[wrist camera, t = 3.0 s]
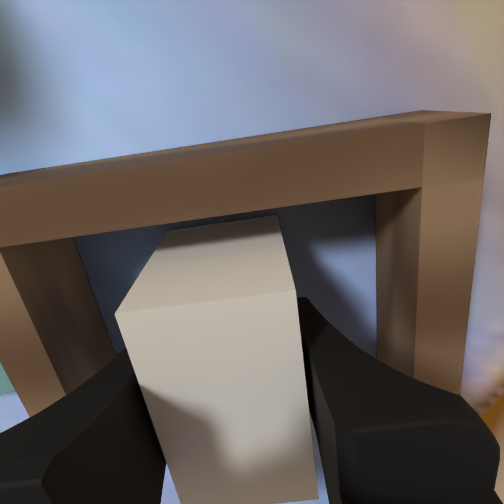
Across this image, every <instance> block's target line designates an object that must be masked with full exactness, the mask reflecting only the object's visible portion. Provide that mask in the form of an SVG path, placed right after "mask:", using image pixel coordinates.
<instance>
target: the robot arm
mask: <svg viewBox="0 0 504 504" xmlns="http://www.w3.org/2000/svg"><path fill="white" fill-rule="evenodd" d="M297 307H298V316H299V325H300V334H301V343H302V352H303V361H304V370H305V379H306V388H307V397H308V406H309V411H310V414H311V417H312V421H313V424H314V428H315V432H316V436H317V440H318V445H319V451H320V456H321V461H322V467H323V472H324V477H325V483H326V488H327V493H328V499H329V504H503V503H502V502H501V500H500V499H499V497H498V495H497V494H496V492H495V491H494V488H495V482H496V477H497V471H498V466H499V461H500V447H499V445H498V442H497V440H496V438H495V436H494V435H493V434H492V432H491V431H490V430H489V428H488V427H487V425H486V424H485V423H484V422H483V420H482V419H481V418H480V417H479V415H478V414H477V413H476V412H475V411H474V410H473V409H472V407H471V406H470V405H469V404H468V403H467V402H466V401H465V400H464V399H463V397H462V396H460V395H457V394H454V393H451V392H449V391H446V390H443V389H440V388H437V387H435V386H432V385H429V384H426V383H424V382H421V381H419V380H417V379H415V378H412V377H410V376H408V375H406V374H403V373H401V372H399V371H397V370H395V369H393V368H391V367H390V366H388V365H386V364H384V363H382V362H381V361H379V360H377V359H375V358H374V357H372V356H370V355H369V354H367V353H366V352H364V351H363V350H361V349H360V348H359V347H357V346H356V345H354V344H353V343H352V342H351V341H349V340H348V339H347V338H346V337H345V336H343V335H342V334H341V333H340V332H339V331H338V330H337V329H335V328H334V327H333V326H332V325H331V324H330V323H329V322H328V321H327V320H326V319H325V318H324V317H323V316H322V315H321V314H320V313H319V311H318V310H317V309H316V308H315V307H314V306H313V304H312V303H311V302H310V300H309V299H307V298H306V297H301V298H297ZM165 468H166V460H165V457H164V454H163V451H162V448H161V445H160V443H159V440H158V437H157V434H156V431H155V428H154V425H153V423H152V420H151V417H150V414H149V411H148V408H147V405H146V403H145V400H144V397H143V394H142V391H141V388H140V385H139V383H138V380H137V377H136V374H135V371H134V368H133V365H132V363H131V360H130V357H129V354H128V351H127V348H125V349H124V350H123V351H122V352H120V353H119V354H118V355H117V356H116V357H115V358H114V359H112V360H111V361H110V362H109V363H108V364H107V365H106V366H104V367H103V368H102V369H101V370H100V371H98V372H97V373H96V374H95V375H93V376H92V377H91V378H90V379H88V380H87V381H85V382H84V383H83V384H81V385H80V386H79V387H77V388H76V389H74V390H73V391H72V392H70V393H69V394H67V395H65V396H64V397H62V398H61V399H59V400H58V401H56V402H55V403H53V404H51V405H50V406H48V407H47V408H45V409H44V410H42V411H40V412H38V413H37V414H35V415H33V416H32V417H30V418H28V419H26V420H24V421H23V422H21V423H19V424H17V425H15V426H13V427H11V428H10V429H8V430H6V431H4V432H2V433H0V504H160V503H161V496H162V488H163V481H164V475H165Z"/></svg>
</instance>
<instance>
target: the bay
mask: <svg viewBox="0 0 504 504" xmlns="http://www.w3.org/2000/svg"><path fill="white" fill-rule="evenodd" d="M490 120H491V113H472V112H449V111H426V110H421V111H414V112H408V113H401V114H395V115H388V116H382V117H375V118H369V119H362V120H355V121H349V122H342V123H336V124H329V125H323V126H316V127H310V128H303V129H297V130H290V131H284V132H277V133H271V134H264V135H257V136H251V137H244V138H238V139H231V140H225V141H218V142H212V143H205V144H199V145H192V146H186V147H179V148H173V149H166V150H159V151H153V152H146V153H140V154H133V155H127V156H120V157H114V158H107V159H101V160H94V161H88V162H81V163H75V164H68V165H62V166H55V167H48V168H42V169H35V170H29V171H22V172H16V173H9V174H4V175H0V362H1V364H2V366H3V368H4V370H5V371H6V373H7V375H8V377H9V379H10V381H11V383H12V385H13V386H14V388H15V390H16V392H17V394H18V396H19V398H20V400H21V402H22V403H23V405H24V407H25V409H26V411H27V413H28V415H29V417H32V416H33V415H35V414H37V413H38V412H40V411H42V410H44V409H45V408H47V407H48V406H50V405H51V404H53V403H55V402H56V401H58V400H59V399H61V398H62V397H64V396H65V395H67V394H69V393H70V392H72V391H73V390H74V389H76V388H77V387H79V386H80V385H81V384H83V383H84V382H85V381H87V380H88V379H90V378H91V377H92V376H93V375H95V374H96V373H97V372H98V371H100V370H101V369H102V368H103V367H104V366H106V365H107V364H108V363H109V362H110V361H111V360H112V359H114V358H115V357H116V354H115V351H114V349H113V346H112V343H111V340H110V338H109V335H108V332H107V329H106V327H105V324H104V321H103V319H102V316H101V313H100V310H99V308H98V305H97V302H96V300H95V297H94V294H93V291H92V289H91V286H90V283H89V281H88V278H87V275H86V272H85V270H84V267H83V264H82V262H81V259H80V256H79V253H78V251H77V248H76V245H75V242H74V240H73V237H76V236H83V235H90V234H97V233H104V232H111V231H118V230H125V229H132V228H139V227H146V226H153V225H160V224H167V223H174V222H181V221H188V220H195V219H202V218H209V217H216V216H223V215H230V214H237V213H244V212H251V211H258V210H265V209H272V208H279V207H286V206H293V205H300V204H307V203H314V202H321V201H328V200H335V199H342V198H349V197H356V196H363V195H370V194H376V308H377V360H379V361H381V362H382V363H384V364H386V365H388V366H390V367H391V368H393V369H395V370H397V371H399V372H401V373H403V374H406V375H408V376H410V377H412V378H415V379H417V380H419V381H421V382H424V383H426V384H429V385H432V386H435V387H437V388H440V389H443V390H446V391H449V392H451V393H454V394H457V395H460V388H461V379H462V370H463V361H464V352H465V343H466V334H467V325H468V316H469V307H470V298H471V289H472V281H473V272H474V263H475V254H476V245H477V236H478V227H479V218H480V209H481V200H482V191H483V182H484V173H485V165H486V156H487V147H488V138H489V129H490Z"/></svg>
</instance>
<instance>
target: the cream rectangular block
mask: <svg viewBox="0 0 504 504" xmlns="http://www.w3.org/2000/svg"><path fill="white" fill-rule="evenodd" d="M115 317H116V320H117V323H118V326H119V328H120V331H121V334H122V337H123V340H124V343H125V345H126V348H127V351H128V354H129V357H130V360H131V363H132V365H133V368H134V371H135V374H136V377H137V380H138V383H139V385H140V388H141V391H142V394H143V397H144V400H145V403H146V405H147V408H148V411H149V414H150V417H151V420H152V423H153V425H154V428H155V431H156V434H157V437H158V440H159V443H160V445H161V448H162V451H163V454H164V457H165V460H166V462H167V465H168V468H169V471H170V474H171V477H172V480H173V482H174V485H175V488H176V491H177V494H178V497H179V500H180V502H181V504H275V503H284V502H294V501H304V500H314V499H319V496H318V487H317V478H316V469H315V460H314V451H313V442H312V433H311V424H310V415H309V406H308V397H307V388H306V379H305V370H304V361H303V352H302V343H301V334H300V325H299V316H298V307H297V298H296V289H295V286H294V282H293V278H292V274H291V270H290V266H289V262H288V258H287V254H286V250H285V246H284V242H283V238H282V234H281V230H280V226H279V222H278V218H277V215H272V216H265V217H258V218H251V219H244V220H237V221H230V222H223V223H216V224H209V225H202V226H195V227H188V228H181V229H174V230H167V232H166V234H165V235H164V237H163V238H162V240H161V241H160V243H159V245H158V246H157V248H156V249H155V251H154V252H153V254H152V256H151V257H150V259H149V260H148V262H147V263H146V265H145V267H144V268H143V270H142V271H141V273H140V275H139V276H138V278H137V279H136V281H135V282H134V284H133V286H132V287H131V289H130V290H129V292H128V293H127V295H126V297H125V298H124V300H123V301H122V303H121V304H120V306H119V308H118V309H117V311H116V312H115Z"/></svg>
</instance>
